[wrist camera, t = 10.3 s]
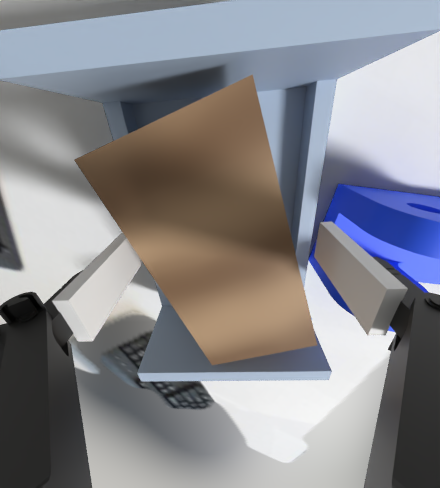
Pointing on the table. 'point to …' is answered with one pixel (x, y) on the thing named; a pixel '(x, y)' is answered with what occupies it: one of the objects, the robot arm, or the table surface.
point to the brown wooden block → (210, 223)
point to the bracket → (388, 231)
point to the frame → (210, 81)
